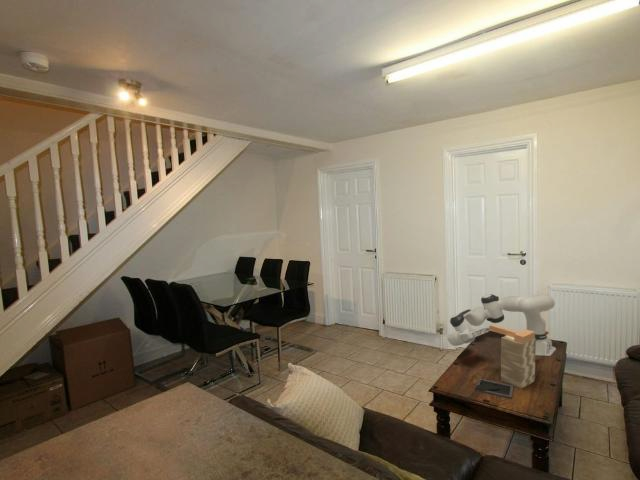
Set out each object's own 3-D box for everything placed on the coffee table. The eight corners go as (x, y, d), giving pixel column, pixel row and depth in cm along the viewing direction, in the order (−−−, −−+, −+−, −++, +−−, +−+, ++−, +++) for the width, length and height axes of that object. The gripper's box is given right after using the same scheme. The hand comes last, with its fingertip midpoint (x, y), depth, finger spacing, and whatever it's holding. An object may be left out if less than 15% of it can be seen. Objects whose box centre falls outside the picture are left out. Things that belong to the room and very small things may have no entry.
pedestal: (514, 373, 212) (514, 332, 209) (534, 381, 201) (535, 338, 198) (500, 380, 204) (501, 337, 202) (521, 388, 194) (522, 344, 191)
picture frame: (475, 391, 195) (511, 400, 185) (475, 388, 195) (511, 396, 185) (478, 380, 206) (513, 388, 196) (478, 377, 206) (513, 384, 196)
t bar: (496, 327, 218) (496, 321, 217) (534, 338, 198) (534, 331, 198) (484, 331, 211) (484, 325, 211) (523, 343, 192) (523, 337, 191)
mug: (532, 369, 215) (532, 354, 214) (544, 374, 209) (545, 359, 207) (520, 374, 210) (520, 359, 209) (532, 379, 203) (532, 364, 202)
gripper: (479, 336, 233) (497, 331, 222) (460, 344, 222) (477, 339, 211) (475, 327, 235) (492, 322, 224) (455, 334, 224) (472, 329, 213)
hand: (484, 330), depth 217 cm, fingers open, 8 cm apart
